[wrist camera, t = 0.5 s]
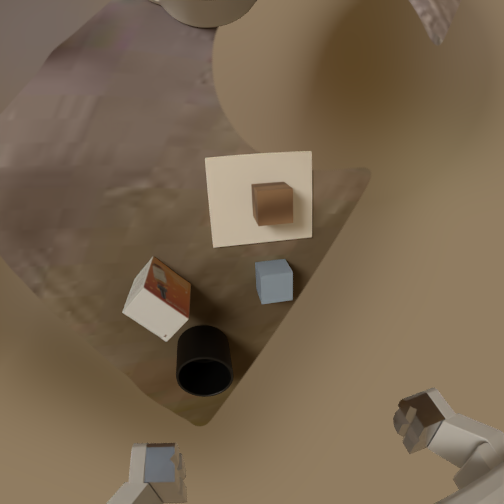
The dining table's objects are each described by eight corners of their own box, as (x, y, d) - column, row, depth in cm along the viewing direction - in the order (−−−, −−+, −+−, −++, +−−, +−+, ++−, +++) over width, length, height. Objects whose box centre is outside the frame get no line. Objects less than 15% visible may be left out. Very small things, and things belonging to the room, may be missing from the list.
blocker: (251, 184, 48) (256, 191, 43) (283, 181, 49) (292, 188, 44) (252, 215, 50) (258, 226, 45) (284, 213, 51) (293, 222, 46)
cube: (255, 262, 53) (260, 276, 49) (284, 258, 54) (292, 272, 50) (256, 288, 55) (261, 304, 51) (285, 285, 56) (292, 300, 52)
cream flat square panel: (204, 157, 46) (204, 158, 45) (311, 151, 48) (311, 151, 47) (213, 246, 51) (213, 247, 51) (311, 236, 53) (311, 237, 53)
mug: (160, 355, 58) (156, 388, 50) (198, 315, 56) (199, 348, 48) (198, 377, 61) (200, 410, 53) (238, 341, 59) (245, 374, 51)
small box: (191, 283, 53) (190, 319, 44) (171, 305, 54) (167, 343, 45) (153, 254, 50) (143, 286, 41) (133, 278, 51) (121, 313, 42)
